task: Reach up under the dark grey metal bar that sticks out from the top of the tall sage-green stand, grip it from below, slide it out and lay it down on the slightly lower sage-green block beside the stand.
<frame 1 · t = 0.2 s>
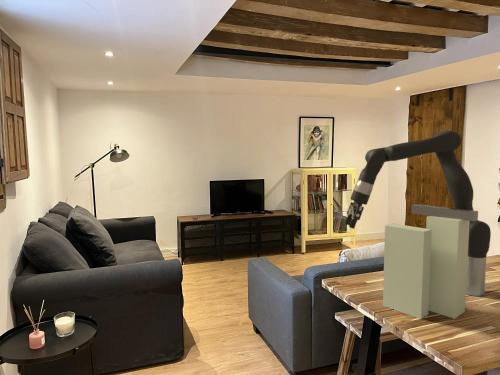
hand: (349, 226, 164), 31 cm above the table, tool tilted 20°, fingers open, 8 cm apart
stand: (443, 310, 148), on the table
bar: (442, 216, 146), point 38 cm above the table, touching stand
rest: (404, 310, 149), on the table
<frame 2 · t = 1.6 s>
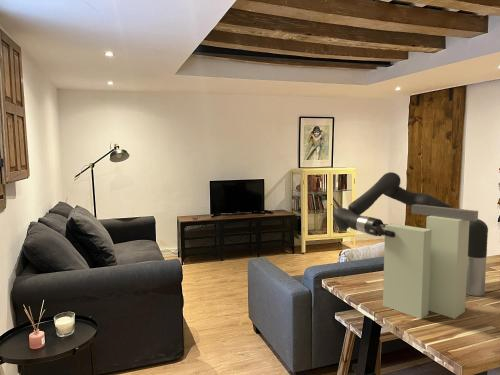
hand: (401, 233, 148), 31 cm above the table, tool horizontal, fingers open, 8 cm apart
nothing on the table moved.
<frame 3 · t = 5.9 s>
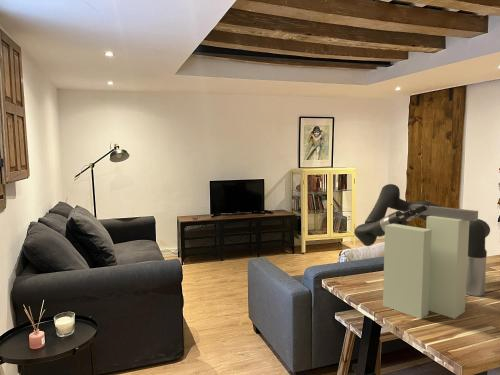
hand: (427, 206, 151), 41 cm above the table, tool pointing upward, fingers closed on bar, 3 cm apart
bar: (442, 216, 146), point 38 cm above the table, touching gripper, stand
everything else where it was.
when the fingers open (38 cm above the table, at t = 11.0 s): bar stays where it is, resting on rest.
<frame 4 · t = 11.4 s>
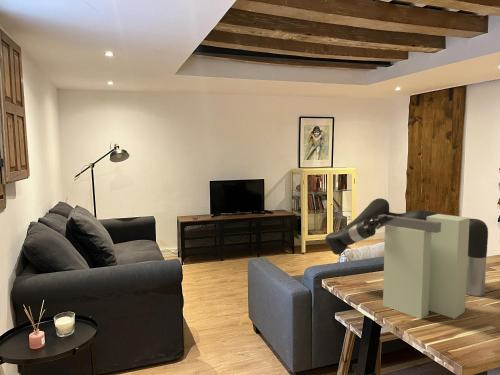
hand: (392, 216, 150), 37 cm above the table, tool pointing upward, fingers open, 6 cm apart
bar: (407, 227, 145), point 34 cm above the table, touching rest
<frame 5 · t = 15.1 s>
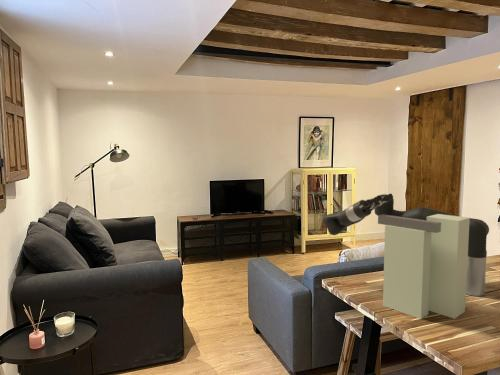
hand: (386, 196, 157), 45 cm above the table, tool pointing upward, fingers open, 8 cm apart
at the end: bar inside the target area (0.0 cm from its centre), point 34.0 cm above the table; the gripper is holding nothing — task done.
